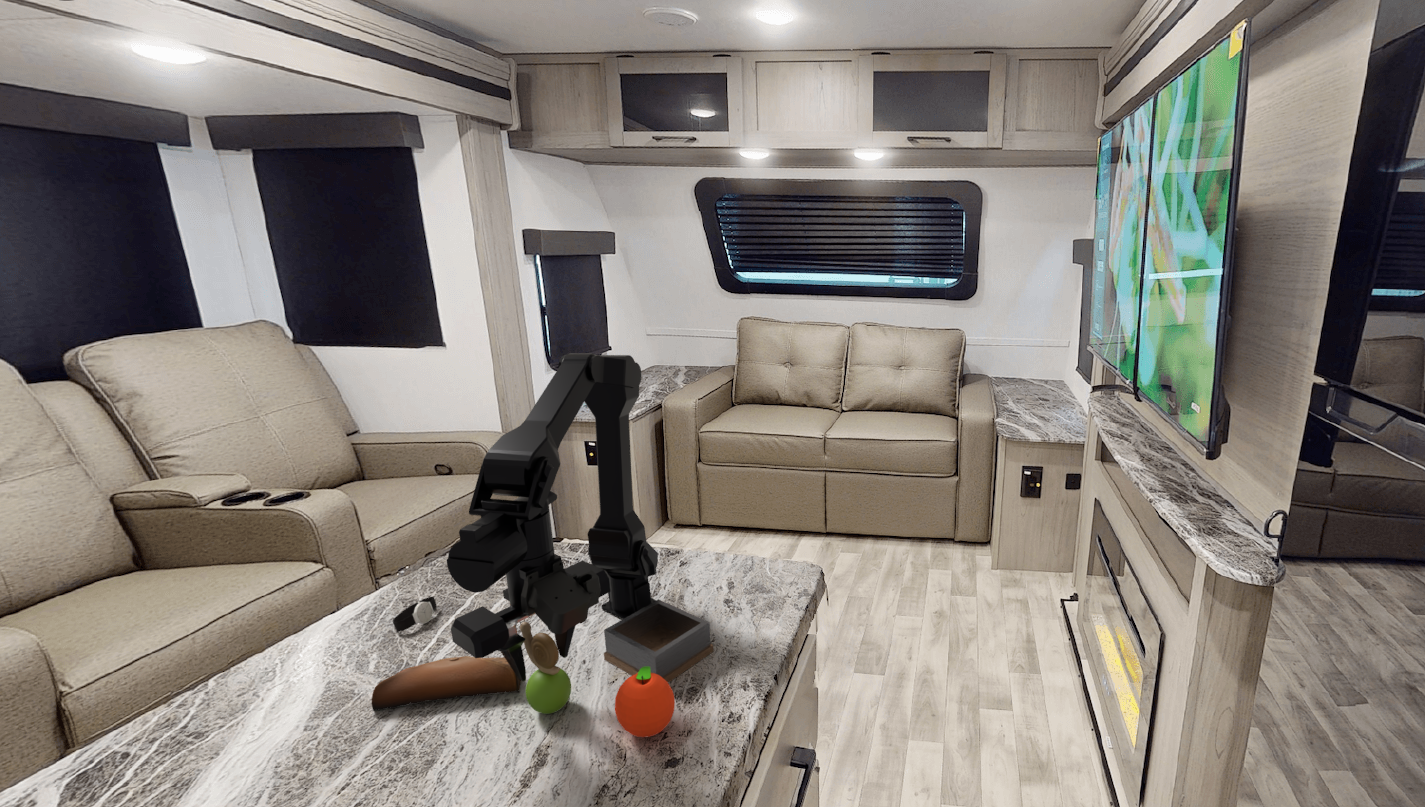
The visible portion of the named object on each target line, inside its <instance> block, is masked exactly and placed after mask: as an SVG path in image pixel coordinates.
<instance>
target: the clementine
mask: <svg viewBox="0 0 1425 807" xmlns="http://www.w3.org/2000/svg"><path fill="white" fill-rule="evenodd" d="M675 699H676V698H675V694H674V691H673V689H672V687H671V685H670V683H668V682H667V681H666V680H665V679H664V678H662V677H661V676H660V675H658V674H655V673H651V669H650V666H645V667H642V668H641V669H640V670H639V672H638V673H637V674H634V675H630V676H629V677H627V678H626V679H625V680H624V681H623V683H621V685H620V686H619V688H618V690H617V693H616V695H615V700H614V711H615V717H616V718H617V721H618V723H619V725H620V726H621V728H623V730H624V731H625V732H627V733H629V735H632V736H634V737H638V738H649V737H653V736H655V735H657V734H659V733H661V732H662V731H663V730H664V729H665V728H666V727H667V726H668V725H669V723H670V722H671V720H672V717H673V715H674V712H675V708H676V707H675V706H676V705H675V702H676V701H675Z"/></svg>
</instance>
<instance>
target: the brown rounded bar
mask: <svg viewBox="0 0 1425 807" xmlns="http://www.w3.org/2000/svg"><path fill="white" fill-rule="evenodd" d="M521 683H522V681H521V680H520V679H519V678H518V677H517V675H516V674H515V672H514V671H513V669H512V668H511V666H510V665H509V663H508V662H507V660H506V659H505V657H504V656H503V657H483V658H475V657H473V656H469V655H465V656H464V655H463V656H459V657H457V656H454V657H447V658H442V659H438V660H434V661H430V662H425V663H421V664H418V665H415V666H412V667H407V668H405V669H402V670H400V671H398V672H397V673H395V674H393V675H391V676H389V677H388V678H385V679H383V680H382V681H380V682H379V683H377V685H376V686H375V687H374V689H373V691H372V696H371V708H372V710H373V711H382V710H383V711H384V710H388V709H394V708H399V707H405V706H409V705H416V704H420V703H425V702H428V701H429V702H435V701H443V700H451V699H456V698H464V697H465V698H466V697H467V698H469V697H477V696H478V697H479V696H486V695H492V694H494V695H495V694H503V693H514V692H517V693H520V688H521Z"/></svg>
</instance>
